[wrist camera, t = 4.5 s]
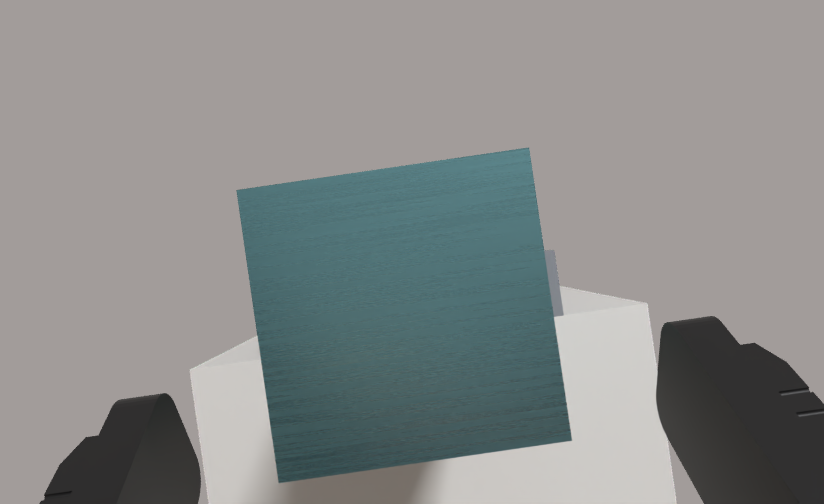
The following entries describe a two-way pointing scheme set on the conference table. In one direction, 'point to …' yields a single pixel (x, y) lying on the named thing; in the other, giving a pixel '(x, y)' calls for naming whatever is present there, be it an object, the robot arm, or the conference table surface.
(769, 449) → the robot arm
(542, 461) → the tall white pedestal box
